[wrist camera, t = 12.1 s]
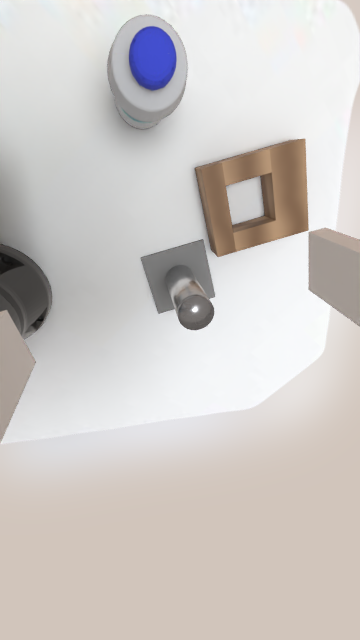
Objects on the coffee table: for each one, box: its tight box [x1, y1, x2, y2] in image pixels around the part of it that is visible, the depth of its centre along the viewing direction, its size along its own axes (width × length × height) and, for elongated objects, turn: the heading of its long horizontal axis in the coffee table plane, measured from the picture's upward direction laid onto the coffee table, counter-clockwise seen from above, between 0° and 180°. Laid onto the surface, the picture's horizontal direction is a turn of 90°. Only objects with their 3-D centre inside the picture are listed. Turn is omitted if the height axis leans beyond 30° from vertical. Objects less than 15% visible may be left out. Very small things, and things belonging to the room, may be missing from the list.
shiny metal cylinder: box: [166, 265, 214, 330], centre depth 44 cm, size 5×5×13 cm
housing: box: [195, 139, 308, 257], centre depth 44 cm, size 14×12×4 cm
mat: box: [141, 239, 215, 314], centre depth 50 cm, size 10×10×1 cm
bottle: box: [107, 15, 188, 129], centre depth 29 cm, size 7×7×20 cm
